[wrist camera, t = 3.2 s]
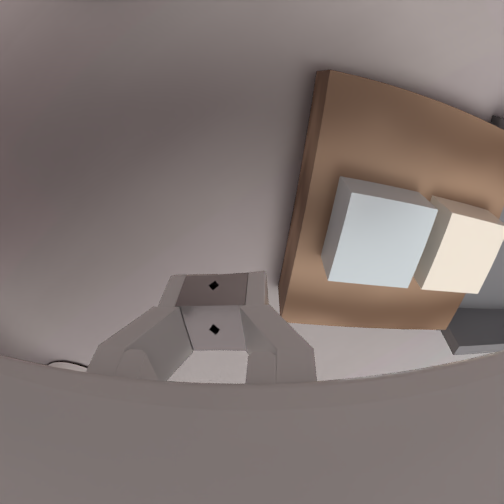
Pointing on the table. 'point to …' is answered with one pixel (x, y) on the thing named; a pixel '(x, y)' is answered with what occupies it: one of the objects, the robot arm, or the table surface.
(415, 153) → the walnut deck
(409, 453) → the robot arm
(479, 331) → the box
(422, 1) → the table surface
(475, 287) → the cream tile
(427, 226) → the pale blue brick
